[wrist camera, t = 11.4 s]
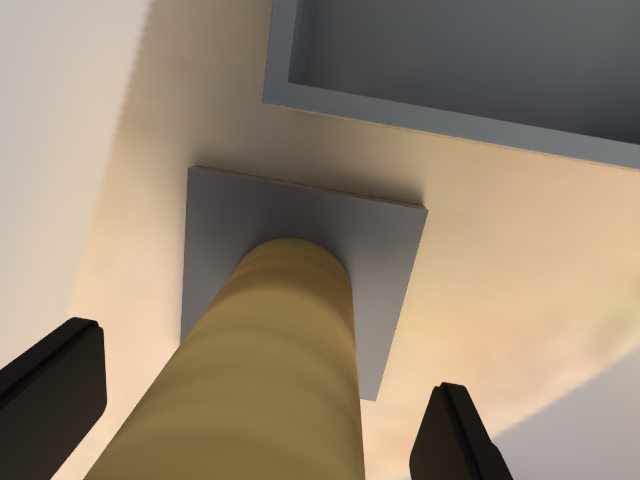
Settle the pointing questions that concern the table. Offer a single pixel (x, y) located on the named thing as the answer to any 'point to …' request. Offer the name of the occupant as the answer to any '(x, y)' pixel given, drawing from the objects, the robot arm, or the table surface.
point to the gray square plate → (310, 224)
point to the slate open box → (468, 71)
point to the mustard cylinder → (255, 382)
